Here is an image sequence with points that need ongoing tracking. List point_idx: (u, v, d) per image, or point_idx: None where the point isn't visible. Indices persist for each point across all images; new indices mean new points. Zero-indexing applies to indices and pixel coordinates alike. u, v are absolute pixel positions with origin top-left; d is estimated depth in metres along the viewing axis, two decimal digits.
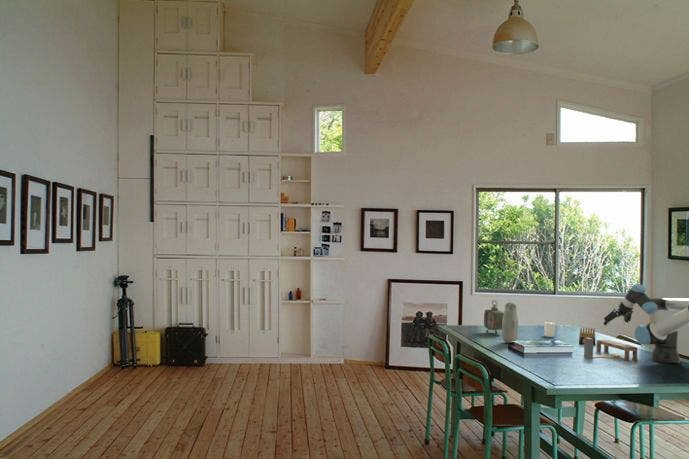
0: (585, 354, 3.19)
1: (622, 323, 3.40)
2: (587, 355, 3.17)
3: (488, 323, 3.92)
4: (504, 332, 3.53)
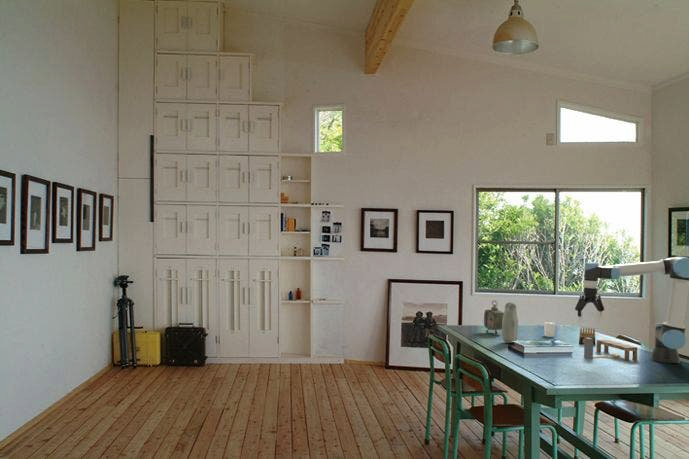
0: (585, 354, 3.19)
1: (598, 314, 3.21)
2: (587, 355, 3.17)
3: (488, 323, 3.92)
4: (504, 332, 3.53)
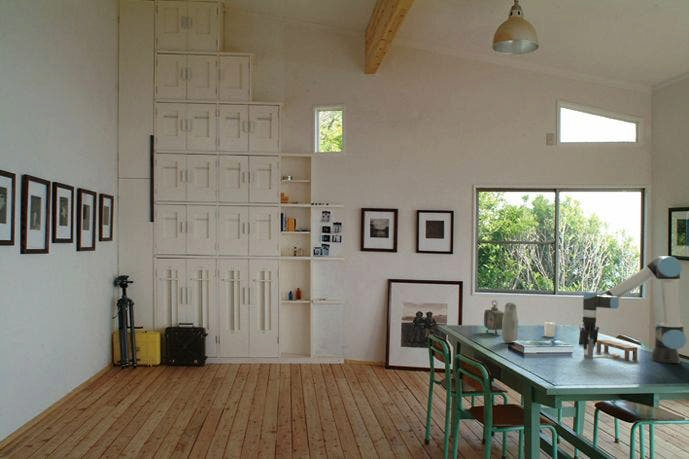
0: None
1: None
2: (587, 355, 3.17)
3: (488, 323, 3.92)
4: (504, 332, 3.53)
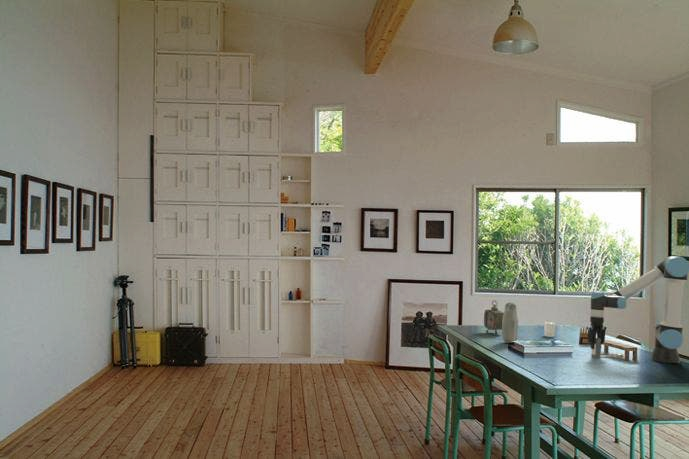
0: (593, 354, 3.20)
1: None
2: (594, 355, 3.19)
3: (488, 323, 3.92)
4: (504, 332, 3.53)
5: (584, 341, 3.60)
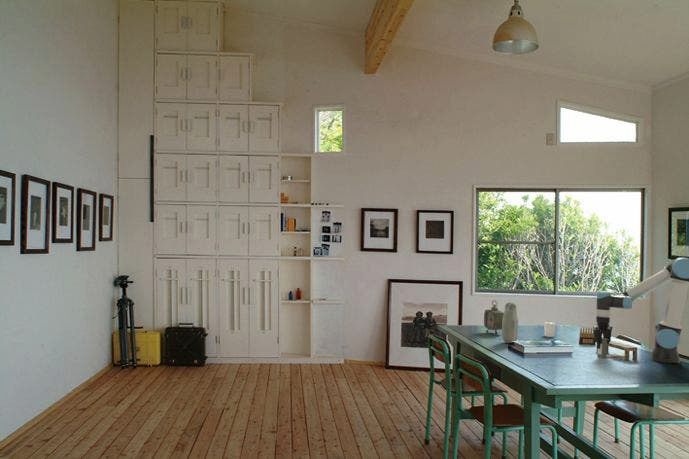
0: (599, 354, 3.22)
1: None
2: (601, 355, 3.21)
3: (488, 323, 3.92)
4: (504, 332, 3.53)
5: (584, 341, 3.60)
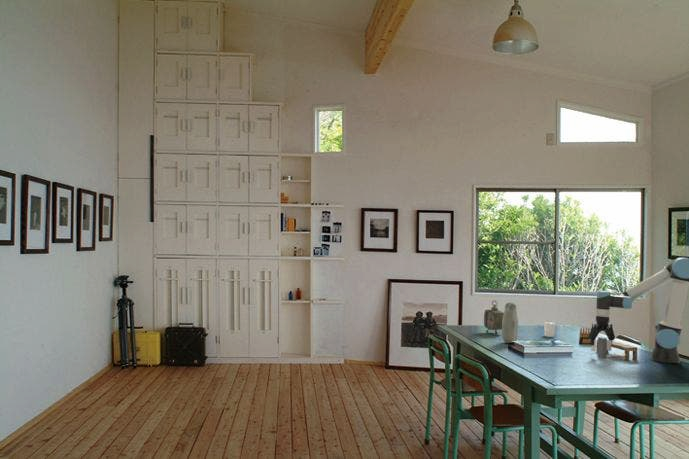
0: (599, 354, 3.22)
1: (609, 343, 3.23)
2: (601, 355, 3.21)
3: (488, 323, 3.92)
4: (504, 332, 3.53)
5: (584, 341, 3.60)
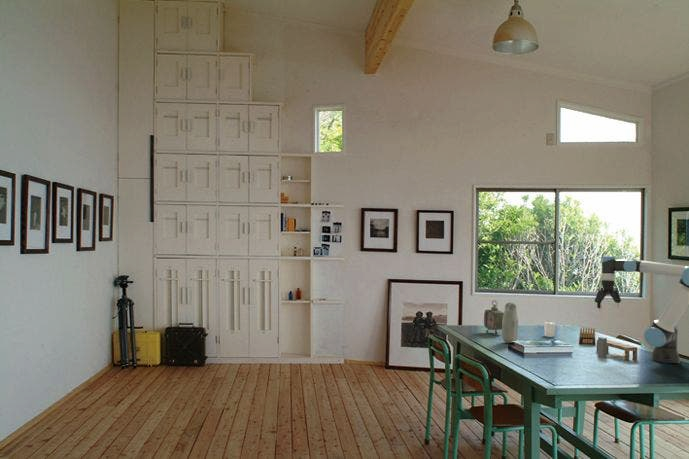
0: (599, 354, 3.22)
1: (615, 306, 3.33)
2: (601, 355, 3.21)
3: (488, 323, 3.92)
4: (504, 332, 3.53)
5: (584, 341, 3.60)
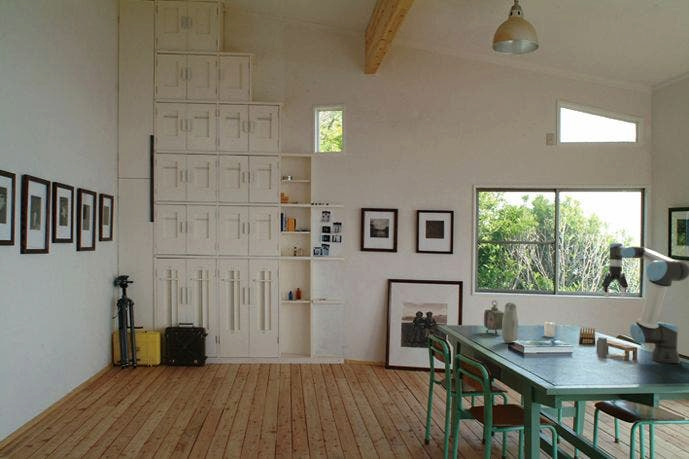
0: (599, 354, 3.22)
1: (622, 291, 3.51)
2: (601, 355, 3.21)
3: (488, 323, 3.92)
4: (504, 332, 3.53)
5: (584, 341, 3.60)
